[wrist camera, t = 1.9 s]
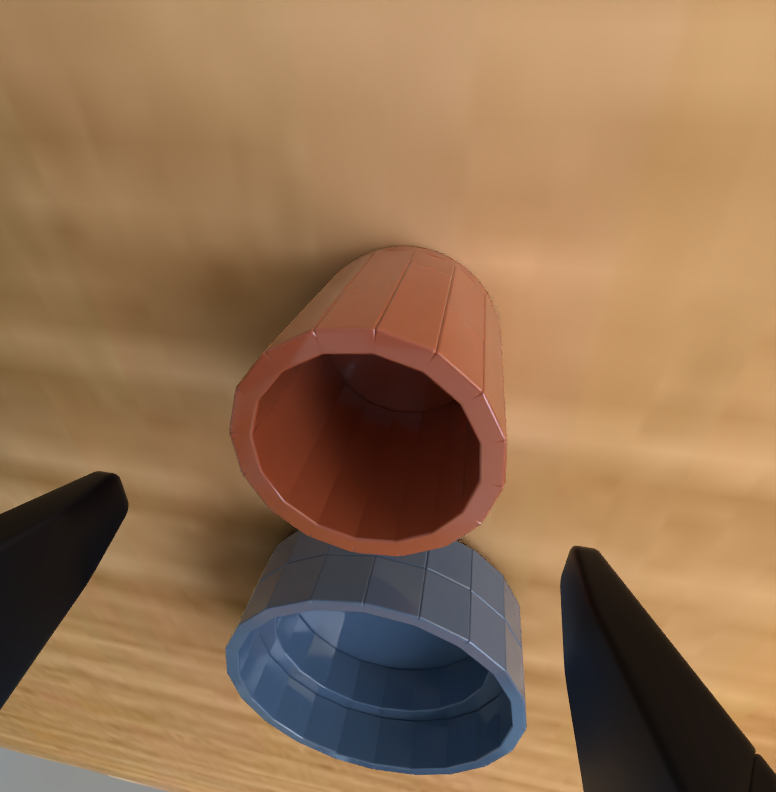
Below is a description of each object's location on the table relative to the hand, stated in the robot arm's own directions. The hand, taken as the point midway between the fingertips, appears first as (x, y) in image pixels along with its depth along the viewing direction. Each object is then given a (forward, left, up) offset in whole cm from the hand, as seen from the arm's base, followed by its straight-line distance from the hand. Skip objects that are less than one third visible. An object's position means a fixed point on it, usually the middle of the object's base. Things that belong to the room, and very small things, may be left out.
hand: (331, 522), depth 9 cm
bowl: (-7, -13, -9) cm, 18 cm away
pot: (0, 0, -9) cm, 9 cm away
